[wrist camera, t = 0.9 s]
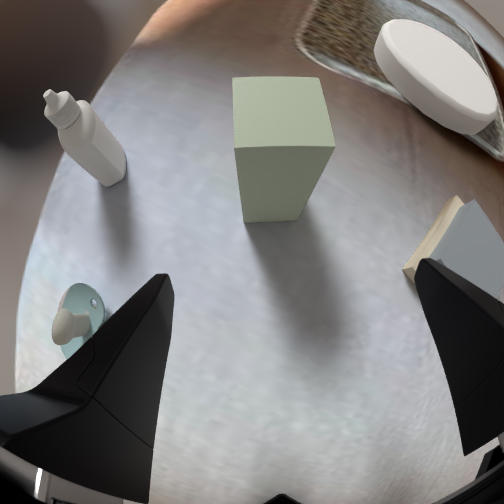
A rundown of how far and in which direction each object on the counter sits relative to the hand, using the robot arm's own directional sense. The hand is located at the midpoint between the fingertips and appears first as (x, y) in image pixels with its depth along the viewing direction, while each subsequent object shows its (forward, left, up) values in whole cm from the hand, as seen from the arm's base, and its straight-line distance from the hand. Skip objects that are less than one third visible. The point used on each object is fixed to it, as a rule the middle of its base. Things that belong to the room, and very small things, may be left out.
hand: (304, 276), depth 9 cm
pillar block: (+6, -5, -13) cm, 16 cm away
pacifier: (+10, +15, -14) cm, 23 cm away
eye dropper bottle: (+20, +3, -14) cm, 24 cm away
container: (+3, -37, -14) cm, 40 cm away
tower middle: (-12, -14, -12) cm, 22 cm away
